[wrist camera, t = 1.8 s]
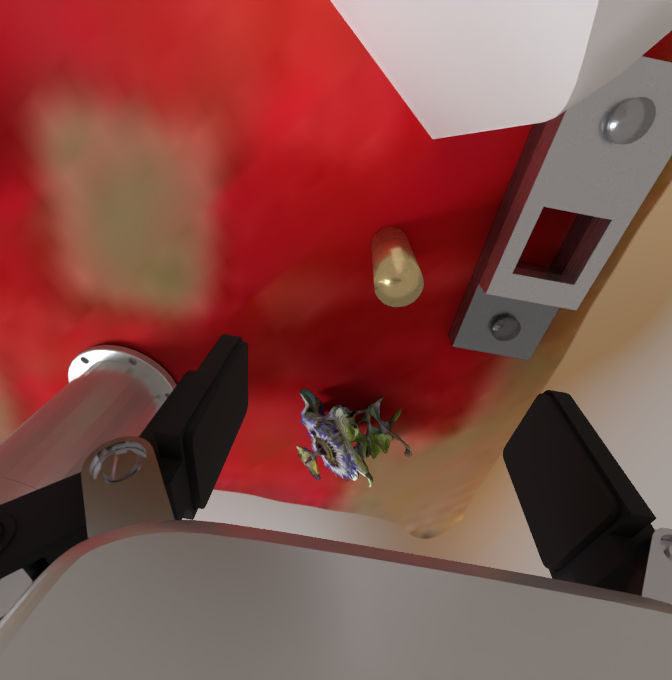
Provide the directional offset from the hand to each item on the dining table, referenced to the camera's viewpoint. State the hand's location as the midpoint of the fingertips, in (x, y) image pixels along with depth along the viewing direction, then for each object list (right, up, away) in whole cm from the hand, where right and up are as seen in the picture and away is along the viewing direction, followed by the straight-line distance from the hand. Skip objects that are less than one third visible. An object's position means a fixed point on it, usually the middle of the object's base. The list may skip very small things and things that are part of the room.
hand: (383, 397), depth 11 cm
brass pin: (+3, +10, +19) cm, 22 cm away
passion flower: (0, -6, +29) cm, 30 cm away
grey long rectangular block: (+15, +11, +18) cm, 26 cm away
